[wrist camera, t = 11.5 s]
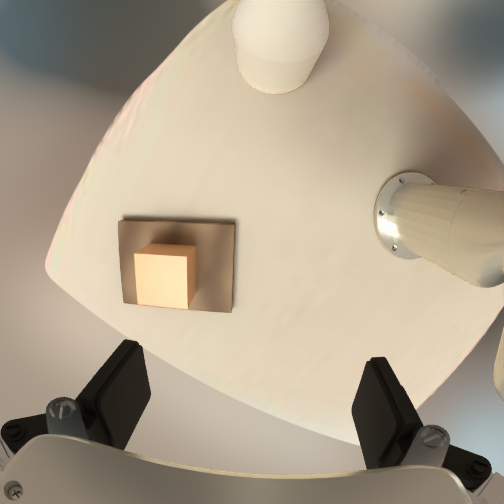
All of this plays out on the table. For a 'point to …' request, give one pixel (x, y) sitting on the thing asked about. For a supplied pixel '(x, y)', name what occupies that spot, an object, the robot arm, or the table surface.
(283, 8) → the wine bottle
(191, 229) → the base plate
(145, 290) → the light orange cube
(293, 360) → the table surface
